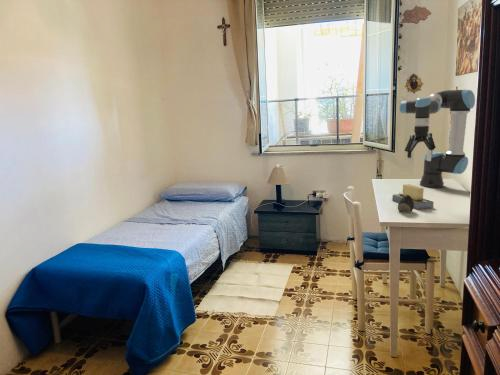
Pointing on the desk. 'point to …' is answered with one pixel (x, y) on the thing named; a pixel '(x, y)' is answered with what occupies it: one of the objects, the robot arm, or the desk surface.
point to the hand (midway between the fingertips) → (419, 162)
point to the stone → (406, 204)
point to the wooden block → (413, 192)
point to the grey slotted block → (415, 202)
